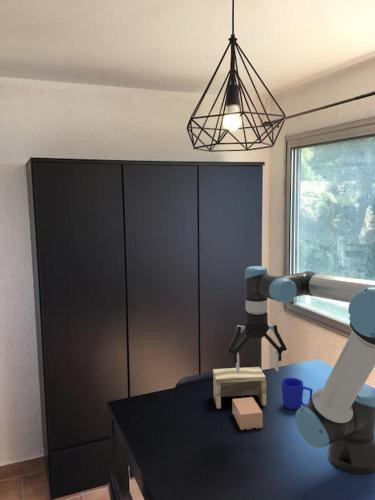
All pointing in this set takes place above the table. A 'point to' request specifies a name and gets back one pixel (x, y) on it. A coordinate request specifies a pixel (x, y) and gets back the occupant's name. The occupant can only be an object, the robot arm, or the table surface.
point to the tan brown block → (247, 413)
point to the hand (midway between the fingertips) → (257, 370)
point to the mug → (293, 393)
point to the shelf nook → (239, 383)
